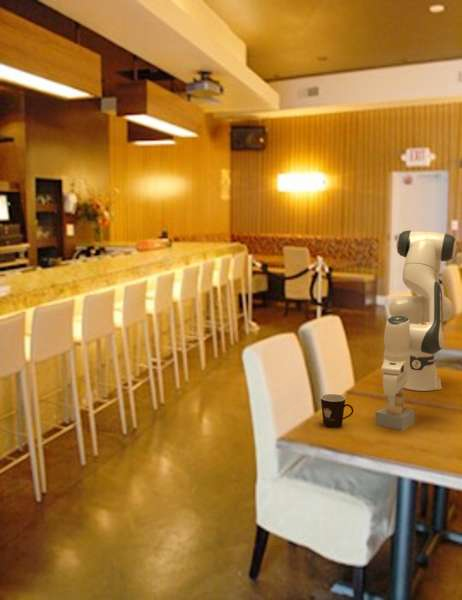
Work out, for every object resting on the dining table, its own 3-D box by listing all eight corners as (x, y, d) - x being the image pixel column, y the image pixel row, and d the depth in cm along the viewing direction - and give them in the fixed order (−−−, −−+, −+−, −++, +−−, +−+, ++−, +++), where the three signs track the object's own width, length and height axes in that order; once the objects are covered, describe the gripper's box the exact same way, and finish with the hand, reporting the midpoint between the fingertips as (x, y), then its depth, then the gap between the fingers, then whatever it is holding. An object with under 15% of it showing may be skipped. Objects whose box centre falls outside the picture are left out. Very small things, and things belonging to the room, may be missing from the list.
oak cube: (389, 408, 215) (389, 392, 214) (403, 410, 213) (404, 393, 212) (386, 412, 211) (386, 395, 210) (400, 414, 209) (400, 397, 208)
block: (388, 418, 220) (388, 404, 219) (414, 423, 213) (414, 410, 213) (375, 425, 212) (375, 412, 211) (402, 431, 206) (402, 417, 205)
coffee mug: (315, 423, 214) (315, 395, 213) (336, 419, 218) (336, 392, 216) (333, 433, 204) (334, 405, 202) (354, 429, 207) (355, 401, 206)
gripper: (394, 355, 220) (393, 392, 222) (380, 368, 202) (379, 408, 204) (412, 357, 217) (411, 394, 219) (399, 371, 199) (397, 411, 201)
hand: (395, 401), depth 212 cm, fingers open, 8 cm apart
